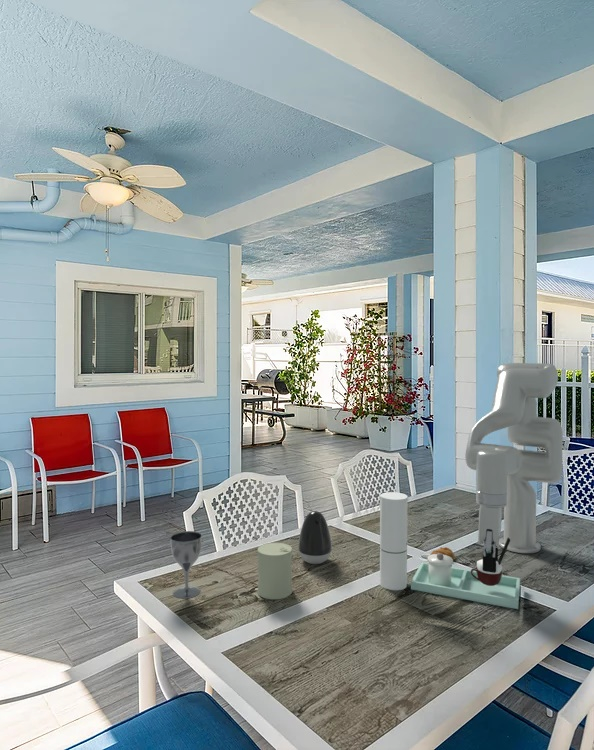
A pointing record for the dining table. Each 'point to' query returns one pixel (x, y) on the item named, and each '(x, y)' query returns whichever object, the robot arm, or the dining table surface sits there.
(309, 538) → the black egg-shaped piece
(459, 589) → the tray
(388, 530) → the cylindrical container
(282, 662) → the dining table surface
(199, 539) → the wine glass
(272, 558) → the can
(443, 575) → the sugar pot
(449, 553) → the pastry
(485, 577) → the cocoa
